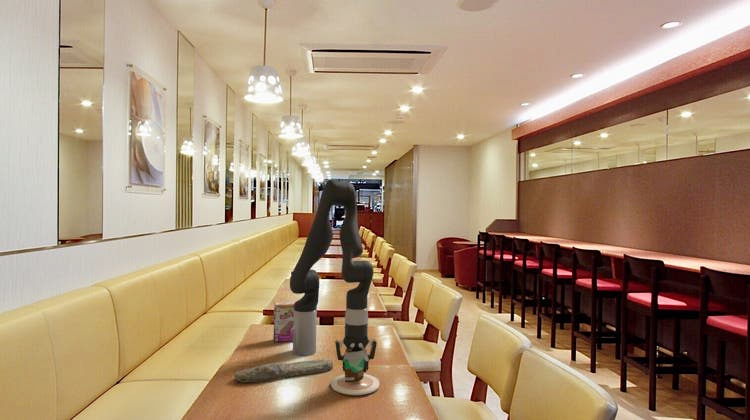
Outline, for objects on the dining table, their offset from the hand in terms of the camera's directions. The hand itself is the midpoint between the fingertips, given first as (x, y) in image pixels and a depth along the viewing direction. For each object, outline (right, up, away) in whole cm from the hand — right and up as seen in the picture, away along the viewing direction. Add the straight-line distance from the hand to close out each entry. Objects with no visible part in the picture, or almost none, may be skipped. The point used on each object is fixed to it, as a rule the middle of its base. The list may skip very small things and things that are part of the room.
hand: (355, 371), depth 147 cm
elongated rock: (-25, -5, +9) cm, 27 cm away
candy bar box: (-32, -4, +48) cm, 58 cm away
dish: (0, -5, 0) cm, 5 cm away
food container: (+1, -2, 0) cm, 2 cm away
